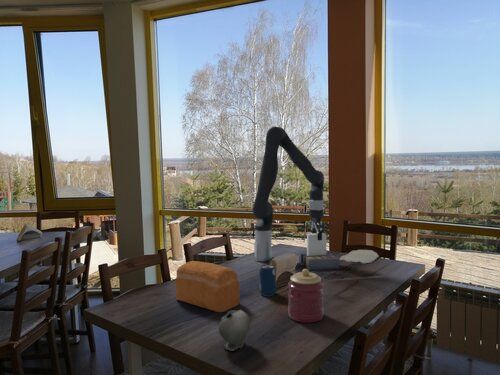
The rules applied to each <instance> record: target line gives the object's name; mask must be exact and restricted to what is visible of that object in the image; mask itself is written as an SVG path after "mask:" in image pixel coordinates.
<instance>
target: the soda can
mask: <svg viewBox="0 0 500 375" xmlns="http://www.w3.org/2000/svg"><path fill="white" fill-rule="evenodd" d="M258 271H259V274H258V275H259V282H258V283H259V293H260V294H261V296H264V297H272V296H275V294H276V292H277V289H276V288H277V283H276V281H277V280H276V278H277V276H276V268H275V266H274V265H273V264H263V265H260V268H259V270H258Z"/></svg>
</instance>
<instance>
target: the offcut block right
mask: <svg viewBox="0 0 500 375" xmlns="http://www.w3.org/2000/svg"><path fill="white" fill-rule="evenodd" d="M320 258H322V259H330V258H338V257H336V256H335V255H334V254H333V255H328V256H320Z"/></svg>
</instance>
